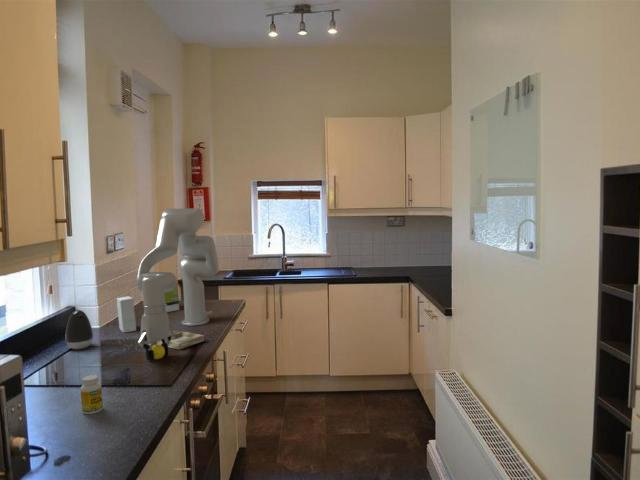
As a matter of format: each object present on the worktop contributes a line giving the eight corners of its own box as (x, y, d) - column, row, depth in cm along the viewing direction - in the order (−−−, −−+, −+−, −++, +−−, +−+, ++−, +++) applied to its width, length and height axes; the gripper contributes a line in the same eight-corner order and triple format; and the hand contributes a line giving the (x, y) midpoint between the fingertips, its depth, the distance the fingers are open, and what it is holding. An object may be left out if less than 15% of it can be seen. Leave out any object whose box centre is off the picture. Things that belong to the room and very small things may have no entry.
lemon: (150, 358, 188) (149, 344, 188) (165, 356, 189) (164, 342, 189) (149, 361, 181) (148, 346, 181) (165, 360, 182) (164, 345, 183)
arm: (147, 343, 205) (146, 326, 204) (172, 335, 216) (171, 319, 215) (179, 349, 195) (178, 332, 194) (204, 340, 206) (203, 324, 205)
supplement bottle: (93, 405, 145) (91, 373, 144) (107, 408, 143) (105, 375, 142) (77, 412, 140) (75, 379, 139) (91, 416, 138) (88, 382, 137)
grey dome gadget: (72, 353, 195) (69, 314, 194) (62, 348, 202) (59, 311, 201) (98, 346, 203) (96, 309, 201) (87, 342, 210) (85, 306, 208)
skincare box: (136, 330, 226) (134, 298, 224) (122, 333, 222) (120, 300, 221) (132, 327, 233) (130, 295, 231) (118, 329, 229) (116, 297, 228)
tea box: (170, 307, 272) (169, 280, 270) (179, 310, 264) (178, 282, 263) (143, 312, 261) (142, 284, 260) (152, 315, 254) (150, 286, 253)
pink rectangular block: (170, 337, 213) (170, 330, 213) (177, 338, 211) (176, 331, 211) (166, 338, 211) (165, 331, 211) (172, 340, 209) (172, 333, 209)
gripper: (166, 303, 193) (169, 349, 195) (127, 313, 179) (131, 362, 180) (180, 305, 189) (182, 352, 190) (141, 315, 174) (144, 366, 176)
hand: (157, 357), depth 185 cm, fingers closed on lemon, 5 cm apart
